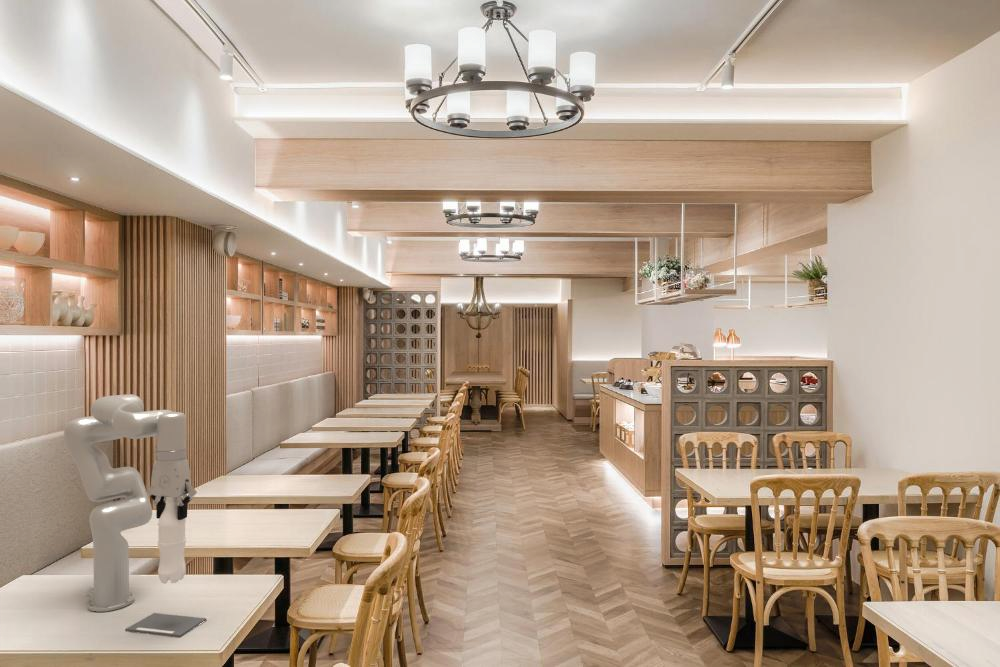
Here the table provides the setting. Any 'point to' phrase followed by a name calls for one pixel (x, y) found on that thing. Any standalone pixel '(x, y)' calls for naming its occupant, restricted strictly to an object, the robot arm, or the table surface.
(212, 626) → the table surface
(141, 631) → the board
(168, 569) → the water bottle
